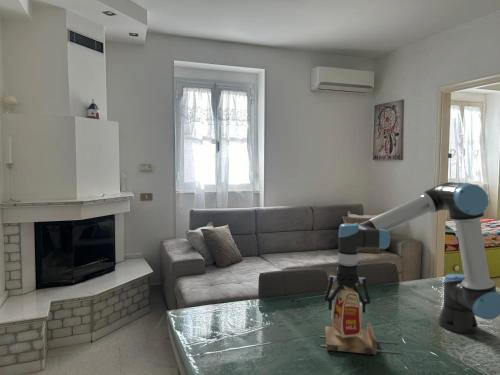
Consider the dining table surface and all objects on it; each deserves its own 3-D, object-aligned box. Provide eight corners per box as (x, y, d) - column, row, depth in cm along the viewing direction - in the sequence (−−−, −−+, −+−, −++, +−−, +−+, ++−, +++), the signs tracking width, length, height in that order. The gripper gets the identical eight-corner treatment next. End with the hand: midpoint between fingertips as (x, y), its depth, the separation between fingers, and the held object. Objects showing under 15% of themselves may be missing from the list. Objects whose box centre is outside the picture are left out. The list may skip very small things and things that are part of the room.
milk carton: (342, 337, 139) (343, 285, 138) (331, 327, 148) (332, 278, 147) (363, 335, 142) (365, 284, 141) (351, 325, 151) (352, 277, 149)
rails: (396, 342, 146) (396, 342, 146) (401, 354, 137) (401, 353, 137) (319, 336, 151) (319, 335, 151) (320, 346, 143) (320, 345, 143)
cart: (369, 334, 152) (370, 322, 152) (376, 355, 135) (377, 341, 135) (325, 330, 155) (325, 318, 155) (326, 350, 138) (327, 337, 138)
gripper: (376, 262, 145) (374, 317, 147) (318, 259, 149) (317, 313, 150) (379, 267, 138) (378, 325, 139) (318, 264, 142) (317, 320, 143)
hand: (346, 319), depth 145 cm, fingers closed on milk carton, 10 cm apart
